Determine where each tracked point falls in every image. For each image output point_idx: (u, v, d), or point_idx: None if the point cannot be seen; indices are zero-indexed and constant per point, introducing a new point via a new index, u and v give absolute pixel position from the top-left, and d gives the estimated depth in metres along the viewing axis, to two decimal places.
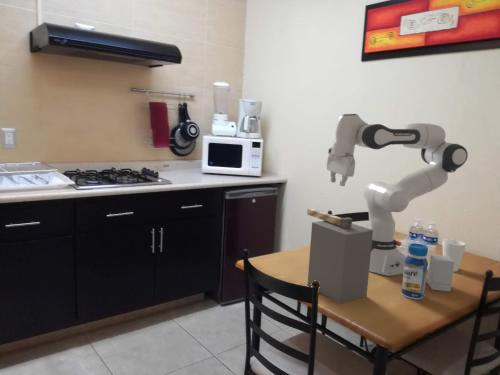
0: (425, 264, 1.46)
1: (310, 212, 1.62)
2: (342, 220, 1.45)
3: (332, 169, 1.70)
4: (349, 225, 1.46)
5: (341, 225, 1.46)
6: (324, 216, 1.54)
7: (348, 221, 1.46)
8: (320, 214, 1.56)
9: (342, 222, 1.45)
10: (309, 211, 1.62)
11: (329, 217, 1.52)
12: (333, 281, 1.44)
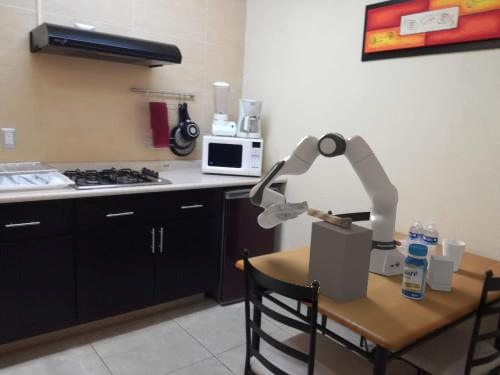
0: (425, 264, 1.46)
1: (310, 212, 1.62)
2: (342, 220, 1.45)
3: (297, 210, 1.76)
4: (349, 225, 1.46)
5: (341, 225, 1.46)
6: (324, 216, 1.54)
7: (348, 221, 1.46)
8: (320, 214, 1.56)
9: (342, 222, 1.45)
10: (309, 211, 1.62)
11: (329, 217, 1.52)
12: (333, 281, 1.44)
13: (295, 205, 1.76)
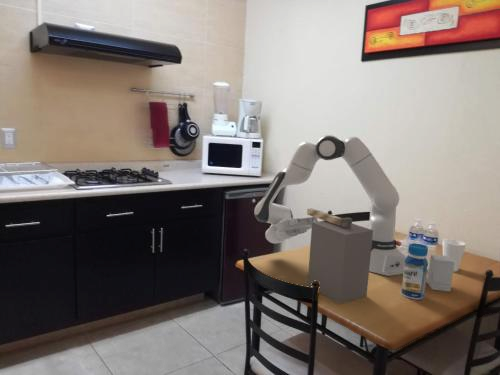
0: (425, 264, 1.46)
1: (310, 212, 1.62)
2: (342, 220, 1.45)
3: (306, 225, 1.72)
4: (349, 225, 1.46)
5: (341, 225, 1.46)
6: (324, 216, 1.54)
7: (348, 221, 1.46)
8: (320, 214, 1.56)
9: (342, 222, 1.45)
10: (309, 211, 1.62)
11: (329, 217, 1.52)
12: (333, 281, 1.44)
13: (304, 220, 1.72)
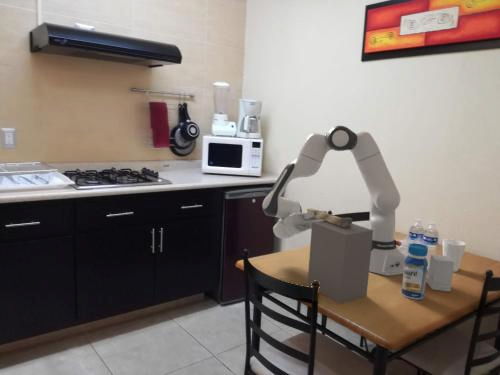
0: (425, 264, 1.46)
1: (310, 212, 1.62)
2: (342, 220, 1.45)
3: (316, 220, 1.65)
4: (349, 225, 1.46)
5: (341, 225, 1.46)
6: (324, 216, 1.54)
7: (348, 221, 1.46)
8: (320, 214, 1.56)
9: (342, 222, 1.45)
10: (309, 211, 1.62)
11: (329, 217, 1.52)
12: (333, 281, 1.44)
13: None
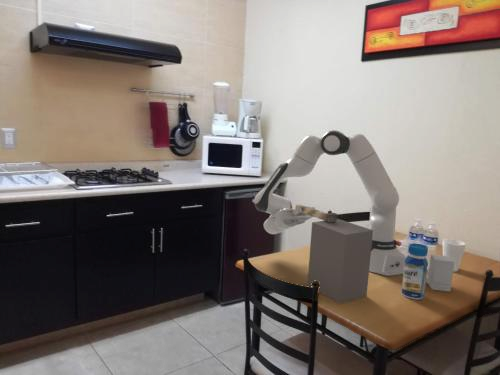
0: (425, 264, 1.46)
1: None
2: (327, 215, 1.52)
3: (304, 216, 1.72)
4: (334, 220, 1.53)
5: (326, 220, 1.52)
6: (311, 211, 1.61)
7: (333, 216, 1.52)
8: (308, 210, 1.63)
9: (327, 217, 1.52)
10: (297, 207, 1.69)
11: (316, 213, 1.59)
12: (333, 281, 1.44)
13: None
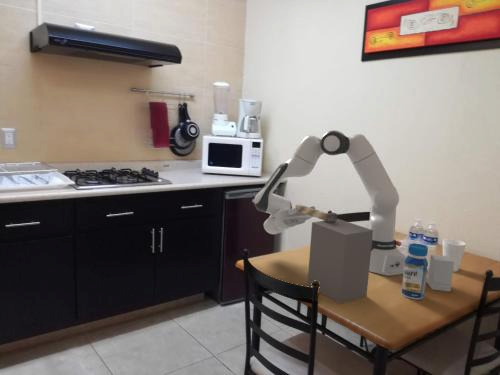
0: (425, 264, 1.46)
1: (298, 208, 1.68)
2: (327, 215, 1.52)
3: (304, 216, 1.72)
4: (334, 220, 1.53)
5: (326, 220, 1.52)
6: (311, 211, 1.61)
7: (333, 216, 1.52)
8: (308, 210, 1.63)
9: (327, 217, 1.52)
10: (297, 207, 1.69)
11: (315, 212, 1.59)
12: (333, 281, 1.44)
13: None
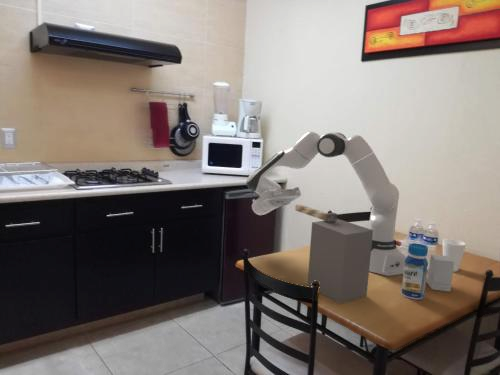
0: (425, 264, 1.46)
1: (298, 208, 1.68)
2: (327, 215, 1.52)
3: (289, 196, 1.81)
4: (334, 220, 1.53)
5: (326, 220, 1.52)
6: (311, 211, 1.61)
7: (333, 216, 1.52)
8: (308, 210, 1.63)
9: (327, 217, 1.52)
10: (297, 207, 1.69)
11: (315, 212, 1.59)
12: (333, 281, 1.44)
13: (287, 191, 1.81)
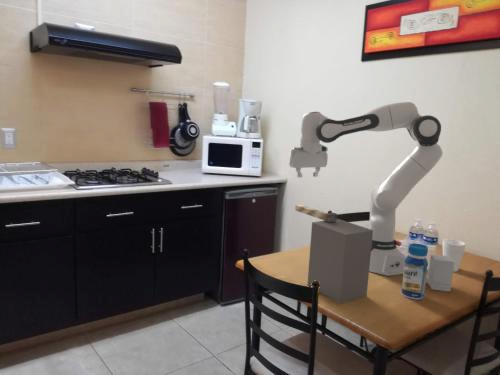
0: (425, 264, 1.46)
1: (298, 208, 1.68)
2: (327, 215, 1.52)
3: None
4: (334, 220, 1.53)
5: (326, 220, 1.52)
6: (311, 211, 1.61)
7: (333, 216, 1.52)
8: (308, 210, 1.63)
9: (327, 217, 1.52)
10: (297, 207, 1.69)
11: (315, 212, 1.59)
12: (333, 281, 1.44)
13: None
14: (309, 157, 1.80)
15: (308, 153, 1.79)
